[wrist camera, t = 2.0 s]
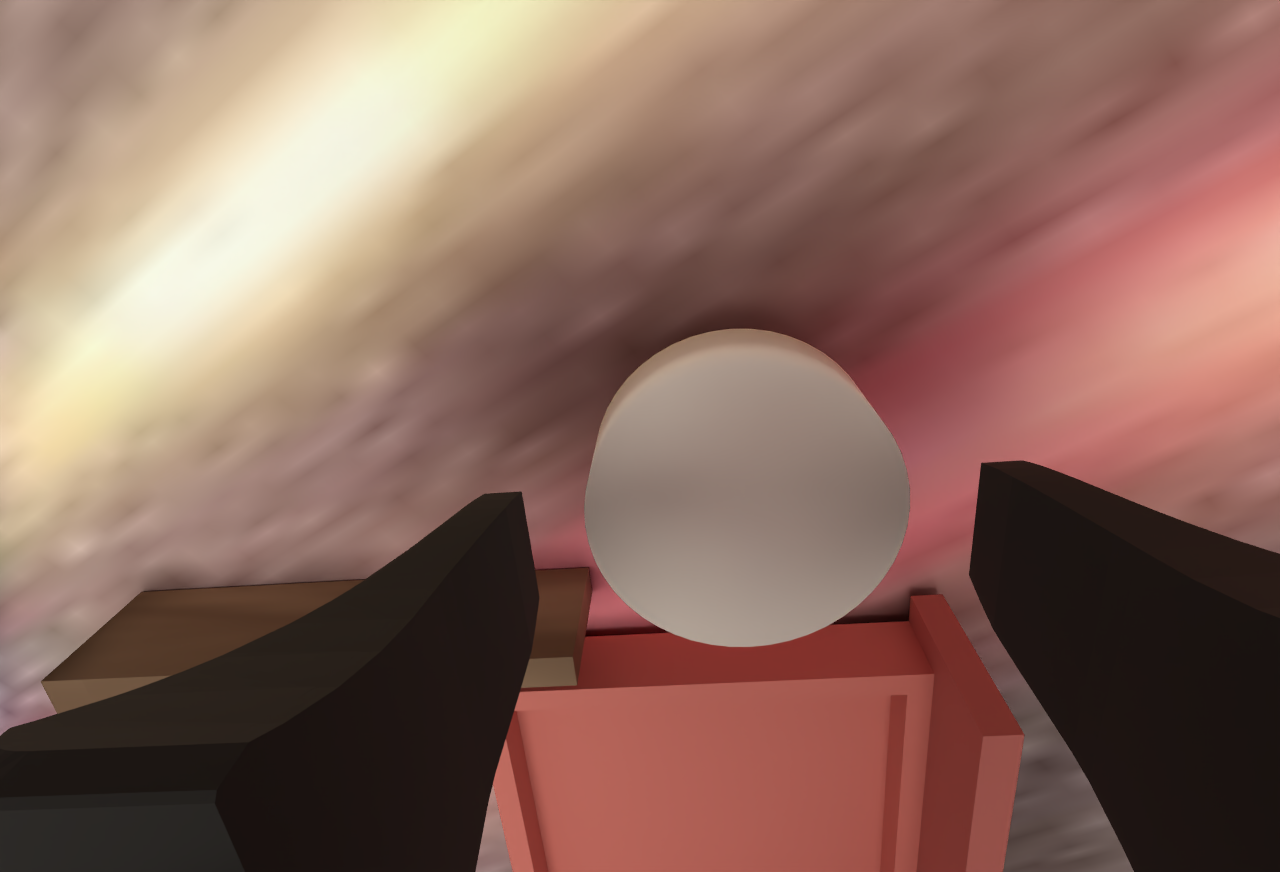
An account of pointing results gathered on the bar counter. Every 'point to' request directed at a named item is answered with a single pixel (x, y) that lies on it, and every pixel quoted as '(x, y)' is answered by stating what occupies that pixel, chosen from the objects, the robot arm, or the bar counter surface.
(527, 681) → the cabinet
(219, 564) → the bar counter surface
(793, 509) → the white dome
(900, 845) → the drawer
